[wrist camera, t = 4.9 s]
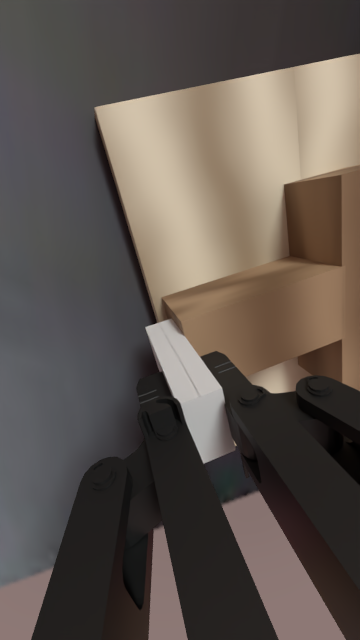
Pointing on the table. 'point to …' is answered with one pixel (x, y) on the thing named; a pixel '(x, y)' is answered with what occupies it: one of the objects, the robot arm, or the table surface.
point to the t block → (290, 291)
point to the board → (227, 173)
